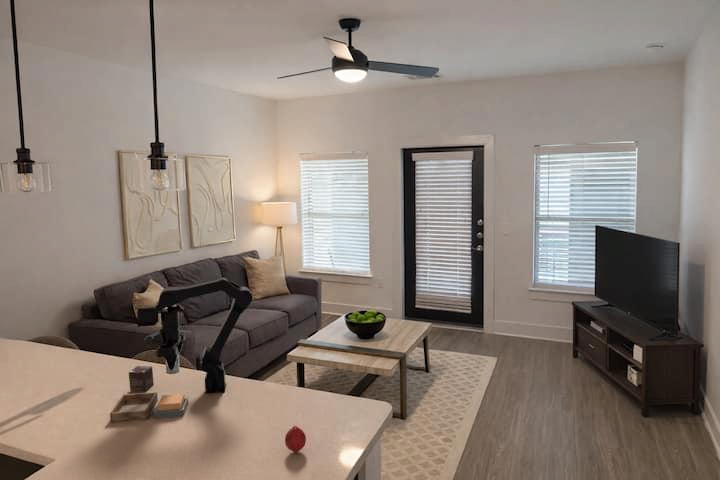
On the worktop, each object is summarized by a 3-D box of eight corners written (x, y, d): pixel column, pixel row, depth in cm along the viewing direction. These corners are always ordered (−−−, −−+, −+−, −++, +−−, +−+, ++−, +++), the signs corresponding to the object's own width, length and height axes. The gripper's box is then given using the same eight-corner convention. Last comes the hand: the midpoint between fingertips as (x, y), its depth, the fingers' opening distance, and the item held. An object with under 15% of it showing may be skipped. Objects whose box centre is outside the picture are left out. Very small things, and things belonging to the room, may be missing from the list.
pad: (184, 399, 172) (184, 393, 172) (180, 408, 165) (180, 402, 165) (162, 401, 171) (162, 395, 171) (158, 410, 164) (157, 404, 164)
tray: (157, 400, 176) (157, 392, 176) (147, 419, 162) (146, 410, 162) (124, 402, 174) (123, 394, 174) (110, 422, 161) (109, 413, 160)
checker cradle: (188, 403, 173) (188, 397, 173) (183, 415, 164) (183, 409, 164) (160, 405, 172) (160, 400, 172) (154, 418, 163) (154, 412, 163)
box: (154, 385, 189) (152, 366, 188) (145, 392, 183) (144, 372, 182) (138, 384, 189) (137, 365, 188) (129, 391, 183) (128, 372, 182)
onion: (286, 447, 145) (285, 420, 144) (306, 446, 145) (305, 419, 144) (284, 458, 139) (283, 430, 138) (306, 457, 140) (305, 429, 139)
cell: (180, 368, 182) (179, 348, 181) (178, 373, 177) (177, 352, 176) (167, 369, 181) (166, 349, 180) (165, 374, 177) (163, 353, 176)
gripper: (152, 317, 185) (155, 359, 187) (138, 334, 166) (141, 379, 168) (184, 316, 186) (186, 357, 188) (174, 332, 168) (176, 377, 170)
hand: (172, 367), depth 179 cm, fingers closed on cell, 4 cm apart
